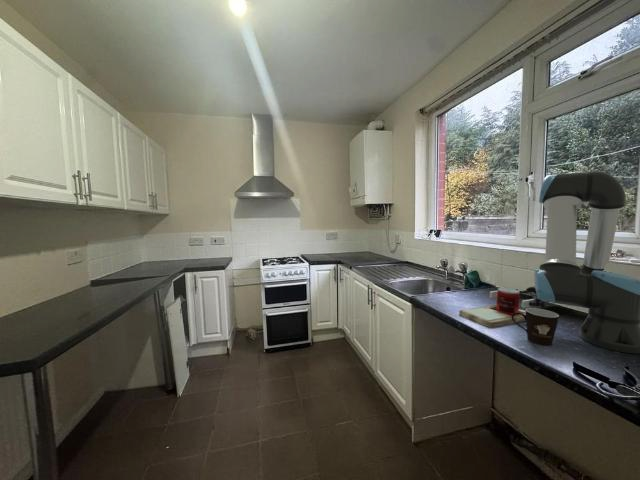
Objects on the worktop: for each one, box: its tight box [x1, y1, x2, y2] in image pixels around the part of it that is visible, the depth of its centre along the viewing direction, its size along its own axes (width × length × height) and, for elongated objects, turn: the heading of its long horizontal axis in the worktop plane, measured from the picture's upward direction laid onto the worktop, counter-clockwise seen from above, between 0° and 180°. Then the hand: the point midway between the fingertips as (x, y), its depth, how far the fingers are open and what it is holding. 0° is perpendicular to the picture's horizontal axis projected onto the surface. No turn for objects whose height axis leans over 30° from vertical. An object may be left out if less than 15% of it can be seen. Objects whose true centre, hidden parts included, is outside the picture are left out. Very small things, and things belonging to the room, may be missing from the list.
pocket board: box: [458, 304, 526, 329], centre depth 111 cm, size 14×26×2 cm, turn 110°
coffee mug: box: [512, 307, 560, 347], centre depth 90 cm, size 12×9×10 cm
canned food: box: [496, 287, 521, 316], centre depth 112 cm, size 8×8×11 cm
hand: (505, 299), depth 112 cm, fingers open, 13 cm apart
